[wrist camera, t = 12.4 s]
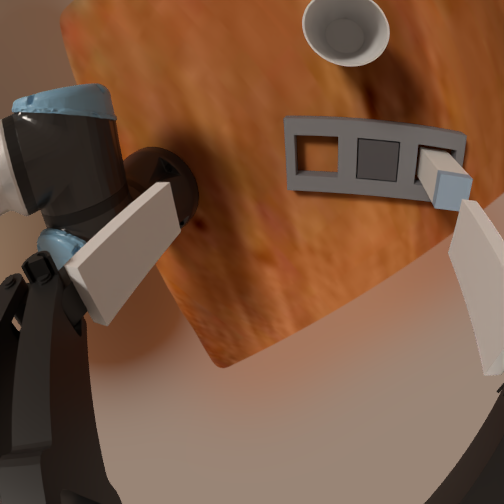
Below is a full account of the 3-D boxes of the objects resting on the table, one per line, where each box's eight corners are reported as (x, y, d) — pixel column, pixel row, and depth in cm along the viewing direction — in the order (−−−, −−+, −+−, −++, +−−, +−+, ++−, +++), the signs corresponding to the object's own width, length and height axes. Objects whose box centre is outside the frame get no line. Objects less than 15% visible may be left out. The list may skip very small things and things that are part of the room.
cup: (389, 50, 28) (405, 46, 20) (334, 76, 32) (333, 80, 25) (353, -3, 25) (357, -23, 17) (298, 24, 29) (285, 13, 22)
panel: (289, 184, 43) (287, 189, 41) (286, 115, 37) (283, 118, 36) (451, 198, 36) (454, 204, 35) (461, 131, 31) (466, 135, 29)
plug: (416, 174, 36) (434, 208, 28) (419, 146, 34) (440, 174, 26) (442, 177, 35) (465, 212, 27) (446, 150, 33) (472, 179, 25)
